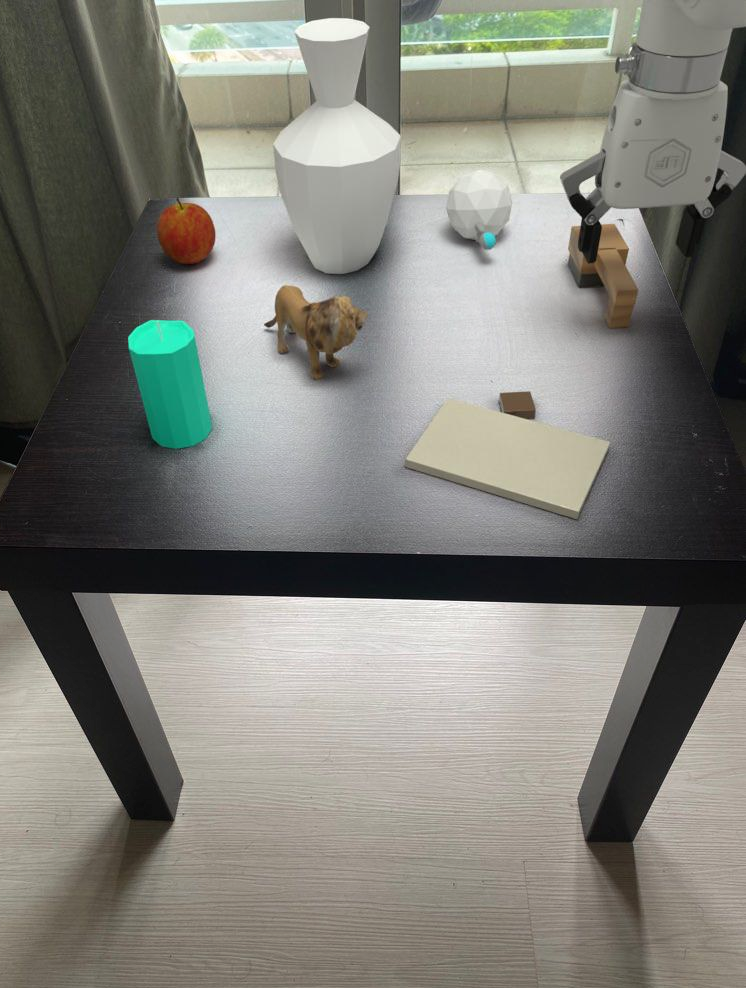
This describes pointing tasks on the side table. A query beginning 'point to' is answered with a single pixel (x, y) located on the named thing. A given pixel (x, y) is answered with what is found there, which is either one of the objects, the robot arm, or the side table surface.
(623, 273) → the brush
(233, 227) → the side table surface
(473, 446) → the tile
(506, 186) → the perfume bottle
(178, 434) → the candle
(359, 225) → the vase
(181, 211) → the fruit
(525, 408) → the mud flake
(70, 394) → the side table surface
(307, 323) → the lion figurine
